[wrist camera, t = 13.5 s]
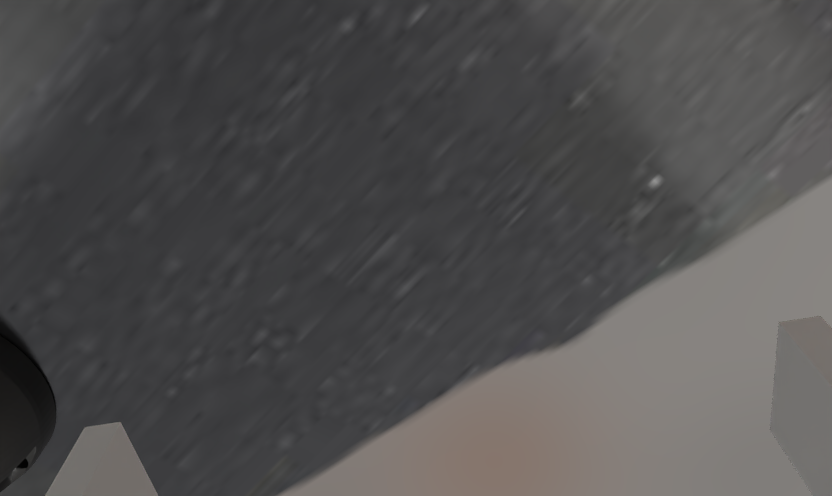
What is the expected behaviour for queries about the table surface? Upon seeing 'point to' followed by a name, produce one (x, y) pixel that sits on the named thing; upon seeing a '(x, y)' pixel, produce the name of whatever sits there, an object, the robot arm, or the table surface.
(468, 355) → the table surface
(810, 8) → the table surface
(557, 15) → the table surface
